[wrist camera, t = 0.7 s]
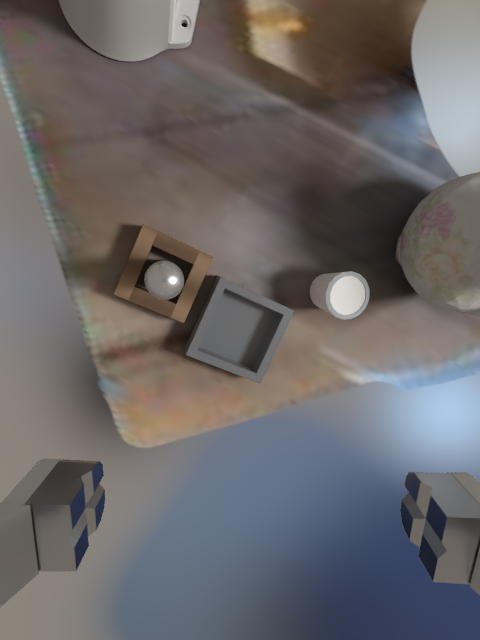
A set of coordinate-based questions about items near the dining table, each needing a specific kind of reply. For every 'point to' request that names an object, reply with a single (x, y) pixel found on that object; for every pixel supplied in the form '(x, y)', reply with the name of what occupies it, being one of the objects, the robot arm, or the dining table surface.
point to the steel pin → (164, 280)
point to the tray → (238, 330)
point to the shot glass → (340, 294)
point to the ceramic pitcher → (445, 246)
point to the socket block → (138, 260)
